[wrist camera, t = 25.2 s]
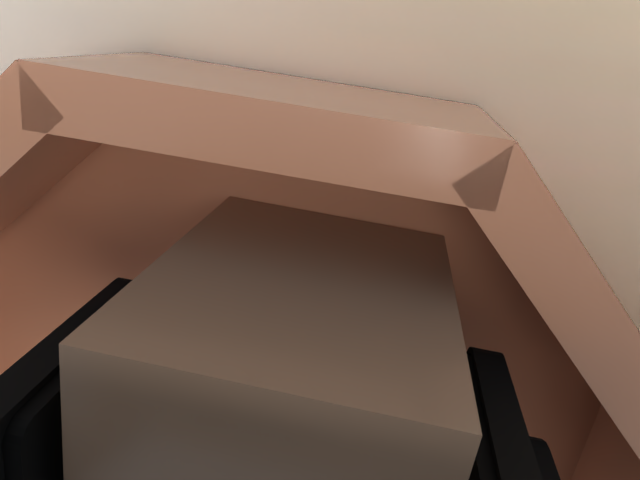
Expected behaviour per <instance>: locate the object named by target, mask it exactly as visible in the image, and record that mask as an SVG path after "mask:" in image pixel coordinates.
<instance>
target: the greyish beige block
mask: <svg viewBox="0 0 640 480" xmlns="http://www.w3.org/2000/svg"><path fill="white" fill-rule="evenodd" d="M59 365H60V393H61V420H62V448H63V476H64V480H469V477H470V473H471V470H472V467H473V464H474V461H475V457H476V454H477V451H478V448H479V445H480V442H481V438H482V431H481V426H480V421H479V415H478V410H477V405H476V400H475V394H474V389H473V384H472V379H471V374H470V368H469V363H468V358H467V353H466V347H465V342H464V337H463V332H462V326H461V321H460V316H459V311H458V305H457V300H456V295H455V290H454V284H453V279H452V274H451V269H450V263H449V258H448V253H447V248H446V242H445V237H444V236H442V235H437V234H431V233H426V232H421V231H415V230H410V229H404V228H399V227H394V226H388V225H383V224H377V223H372V222H367V221H361V220H356V219H350V218H345V217H340V216H334V215H329V214H323V213H318V212H313V211H307V210H302V209H296V208H291V207H286V206H280V205H275V204H269V203H264V202H259V201H253V200H248V199H242V198H237V197H231V196H229V197H228V198H227V199H226V200H225V201H224V202H222V203H221V204H220V205H219V206H218V207H217V208H215V209H214V210H213V211H212V212H211V213H210V214H209V215H207V216H206V217H205V218H204V219H203V220H202V221H200V222H199V223H198V224H197V225H196V226H195V227H193V228H192V229H191V230H190V231H189V232H188V233H187V234H185V235H184V236H183V237H182V238H181V239H180V240H178V241H177V242H176V243H175V244H174V245H173V246H171V247H170V248H169V249H168V250H167V251H166V252H164V253H163V254H162V255H161V256H160V257H159V258H158V259H156V260H155V261H154V262H153V263H152V264H151V265H149V266H148V267H147V268H146V269H145V270H144V271H142V272H141V273H140V274H139V275H138V276H137V277H136V278H134V279H133V280H132V281H131V282H130V283H129V284H127V285H126V286H125V287H124V288H123V289H122V290H120V291H119V292H118V293H117V294H116V295H115V296H114V297H112V298H111V299H110V300H109V301H108V302H107V303H105V304H104V305H103V306H102V307H101V308H100V309H98V310H97V311H96V312H95V313H94V314H93V315H91V316H90V317H89V318H88V319H87V320H86V321H85V322H83V323H82V324H81V325H80V326H79V327H78V328H76V329H75V330H74V331H73V332H72V333H71V334H69V335H68V336H67V337H66V338H65V339H64V340H63V341H61V342H60V343H59Z"/></svg>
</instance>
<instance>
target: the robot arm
mask: <svg viewBox="0 0 640 480" xmlns="http://www.w3.org/2000/svg"><path fill="white" fill-rule="evenodd" d="M131 281H132V280H131V279H126V278H119V277H118V278H117V279H115V280H114V281H112V282H111V283H110V284H109V285H108V286H106V287H105V288H104V289H103V290H102V291H100V292H99V293H98V294H97V295H96V296H94V297H93V298H92V299H91V300H90V301H88V302H87V303H86V304H85V305H84V306H82V307H81V308H80V309H79V310H78V311H76V312H75V313H74V314H73V315H72V316H70V317H69V318H68V319H67V320H66V321H64V322H63V323H62V324H61V325H60V326H58V327H57V328H56V329H55V330H54V331H52V332H51V333H50V334H49V335H48V336H46V337H45V338H44V339H43V340H42V341H40V342H39V343H38V344H37V345H36V346H34V347H33V348H32V349H31V350H30V351H28V352H27V353H26V354H25V355H24V356H22V357H21V358H20V359H19V360H18V361H16V362H15V363H14V364H13V365H12V366H10V367H9V368H8V369H7V370H6V371H4V372H3V373H2V374H1V375H0V480H64V476H63V448H62V420H61V393H60V365H59V343H60V342H61V341H63V340H64V339H65V338H66V337H67V336H68V335H69V334H71V333H72V332H73V331H74V330H75V329H76V328H78V327H79V326H80V325H81V324H82V323H83V322H85V321H86V320H87V319H88V318H89V317H90V316H91V315H93V314H94V313H95V312H96V311H97V310H98V309H100V308H101V307H102V306H103V305H104V304H105V303H107V302H108V301H109V300H110V299H111V298H112V297H114V296H115V295H116V294H117V293H118V292H119V291H120V290H122V289H123V288H124V287H125V286H126V285H127V284H129V283H130V282H131ZM466 353H467V358H468V363H469V368H470V374H471V379H472V384H473V389H474V394H475V400H476V405H477V410H478V415H479V421H480V426H481V431H482V438H481V442H480V445H479V448H478V451H477V454H476V457H475V461H474V464H473V467H472V470H471V473H470V477H469V480H561V479H560V476H559V474H558V471H557V468H556V465H555V462H554V459H553V456H552V454H551V451H550V448H549V446H548V444H547V442H546V441H544V440H543V439H541V438H536V437H531V436H529V433H528V430H527V427H526V424H525V421H524V417H523V414H522V411H521V408H520V405H519V401H518V398H517V395H516V392H515V389H514V385H513V382H512V379H511V376H510V373H509V369H508V366H507V363H506V360H505V357H504V355H503V353H500V352H495V351H490V350H485V349H480V348H475V347H469V348H468V350H467V352H466Z"/></svg>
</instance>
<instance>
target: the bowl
mask: <svg viewBox="0 0 640 480" xmlns="http://www.w3.org/2000/svg"><path fill="white" fill-rule="evenodd" d="M229 196H231V197H237V198H242V199H248V200H253V201H259V202H264V203H269V204H275V205H280V206H286V207H291V208H296V209H302V210H307V211H313V212H318V213H323V214H329V215H334V216H340V217H345V218H350V219H356V220H361V221H367V222H372V223H377V224H383V225H388V226H394V227H399V228H404V229H410V230H415V231H421V232H426V233H431V234H437V235H442V236H444V237H445V242H446V248H447V253H448V258H449V263H450V269H451V274H452V279H453V284H454V290H455V295H456V300H457V305H458V311H459V316H460V321H461V326H462V332H463V337H464V342H465V347H466V352H467V350H468V348H469V347H475V348H480V349H485V350H490V351H495V352H500V353H503V355H504V357H505V360H506V363H507V366H508V369H509V373H510V376H511V379H512V382H513V385H514V389H515V392H516V395H517V398H518V401H519V405H520V408H521V411H522V414H523V417H524V421H525V424H526V427H527V430H528V433H529V436H531V437H536V438H541V439H543V440H544V441H546V442H547V444H548V446H549V448H550V451H551V454H552V456H553V459H554V462H555V465H556V468H557V471H558V474H559V476H560V479H561V480H640V333H639V331H638V329H637V328H636V326H635V325H634V323H633V322H632V320H631V319H630V317H629V315H628V314H627V312H626V311H625V309H624V308H623V306H622V304H621V303H620V301H619V300H618V298H617V297H616V295H615V294H614V292H613V290H612V289H611V287H610V286H609V284H608V283H607V281H606V280H605V278H604V276H603V275H602V273H601V272H600V270H599V269H598V267H597V266H596V264H595V262H594V261H593V259H592V258H591V256H590V255H589V253H588V251H587V250H586V248H585V247H584V245H583V244H582V242H581V241H580V239H579V237H578V236H577V234H576V233H575V231H574V230H573V228H572V227H571V225H570V223H569V222H568V220H567V219H566V217H565V216H564V214H563V213H562V211H561V209H560V208H559V206H558V205H557V203H556V202H555V200H554V199H553V197H552V195H551V194H550V192H549V191H548V189H547V188H546V186H545V184H544V183H543V181H542V180H541V178H540V177H539V175H538V174H537V172H536V170H535V169H534V167H533V166H532V164H531V163H530V161H529V160H528V158H527V156H526V155H525V153H524V152H523V150H522V149H521V147H520V146H519V144H518V142H517V141H516V140H514V139H513V138H512V137H511V136H510V135H509V134H508V133H507V132H506V131H505V130H504V129H503V128H501V127H500V126H499V125H498V124H497V123H496V122H495V121H494V120H493V119H492V118H491V117H490V116H489V115H487V114H486V113H485V112H484V111H483V110H482V109H481V108H480V107H479V106H477V105H472V104H466V103H459V102H453V101H447V100H441V99H434V98H428V97H422V96H415V95H409V94H403V93H397V92H390V91H384V90H378V89H372V88H365V87H359V86H353V85H346V84H340V83H334V82H328V81H321V80H315V79H309V78H302V77H296V76H290V75H284V74H277V73H271V72H265V71H258V70H252V69H246V68H240V67H233V66H227V65H221V64H214V63H208V62H202V61H196V60H189V59H183V58H177V57H170V56H164V55H158V54H152V53H145V52H138V53H120V54H102V55H85V56H67V57H50V58H32V59H18V60H15V61H14V62H13V63H12V64H11V65H10V66H9V67H8V68H7V69H6V70H5V71H4V72H3V73H2V74H1V76H0V375H1V374H2V373H3V372H4V371H6V370H7V369H8V368H9V367H10V366H12V365H13V364H14V363H15V362H16V361H18V360H19V359H20V358H21V357H22V356H24V355H25V354H26V353H27V352H28V351H30V350H31V349H32V348H33V347H34V346H36V345H37V344H38V343H39V342H40V341H42V340H43V339H44V338H45V337H46V336H48V335H49V334H50V333H51V332H52V331H54V330H55V329H56V328H57V327H58V326H60V325H61V324H62V323H63V322H64V321H66V320H67V319H68V318H69V317H70V316H72V315H73V314H74V313H75V312H76V311H78V310H79V309H80V308H81V307H82V306H84V305H85V304H86V303H87V302H88V301H90V300H91V299H92V298H93V297H94V296H96V295H97V294H98V293H99V292H100V291H102V290H103V289H104V288H105V287H106V286H108V285H109V284H110V283H111V282H112V281H114V280H115V279H117V278H118V277H119V278H126V279H131V280H133V279H134V278H136V277H137V276H138V275H139V274H140V273H141V272H142V271H144V270H145V269H146V268H147V267H148V266H149V265H151V264H152V263H153V262H154V261H155V260H156V259H158V258H159V257H160V256H161V255H162V254H163V253H164V252H166V251H167V250H168V249H169V248H170V247H171V246H173V245H174V244H175V243H176V242H177V241H178V240H180V239H181V238H182V237H183V236H184V235H185V234H187V233H188V232H189V231H190V230H191V229H192V228H193V227H195V226H196V225H197V224H198V223H199V222H200V221H202V220H203V219H204V218H205V217H206V216H207V215H209V214H210V213H211V212H212V211H213V210H214V209H215V208H217V207H218V206H219V205H220V204H221V203H222V202H224V201H225V200H226V199H227V198H228V197H229Z"/></svg>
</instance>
